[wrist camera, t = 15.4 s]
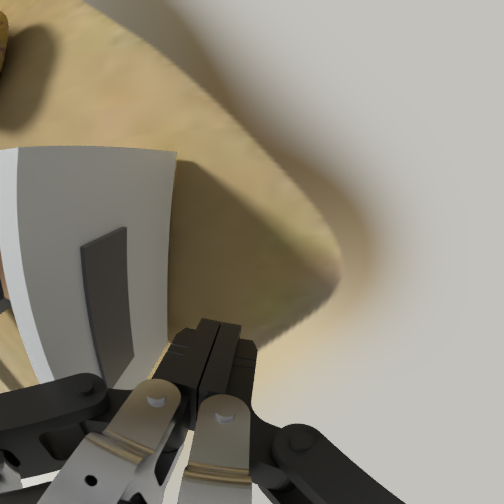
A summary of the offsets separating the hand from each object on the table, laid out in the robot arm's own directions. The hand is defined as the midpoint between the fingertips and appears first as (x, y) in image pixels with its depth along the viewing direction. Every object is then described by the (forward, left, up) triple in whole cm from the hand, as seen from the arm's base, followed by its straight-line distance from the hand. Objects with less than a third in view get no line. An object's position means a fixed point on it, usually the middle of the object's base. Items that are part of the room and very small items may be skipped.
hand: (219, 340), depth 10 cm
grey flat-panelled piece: (0, +12, -7) cm, 14 cm away
